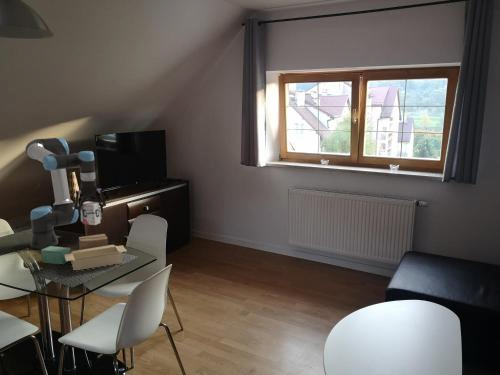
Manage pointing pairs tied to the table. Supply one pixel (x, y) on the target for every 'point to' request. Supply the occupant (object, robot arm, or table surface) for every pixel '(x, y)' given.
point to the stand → (93, 241)
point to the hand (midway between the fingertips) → (91, 220)
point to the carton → (95, 257)
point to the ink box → (91, 213)
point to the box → (54, 255)
